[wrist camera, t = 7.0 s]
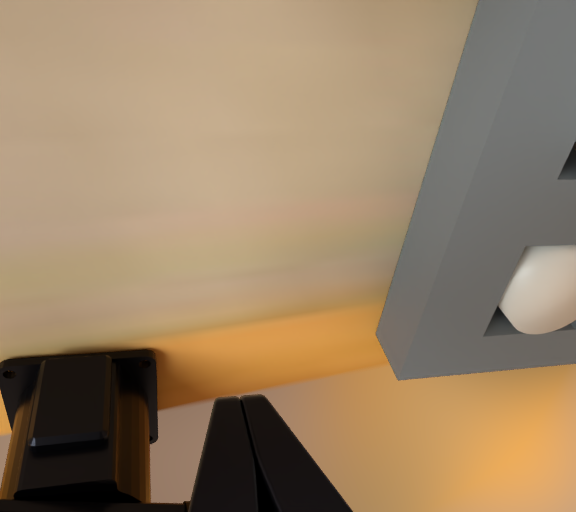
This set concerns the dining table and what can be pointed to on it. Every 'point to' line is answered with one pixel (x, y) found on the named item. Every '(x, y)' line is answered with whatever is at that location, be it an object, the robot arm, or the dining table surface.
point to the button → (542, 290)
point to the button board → (490, 198)
